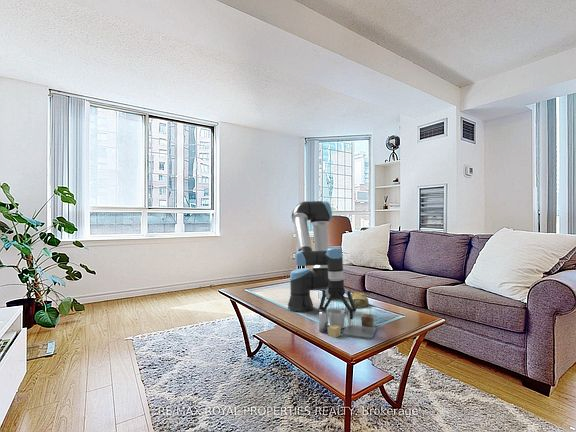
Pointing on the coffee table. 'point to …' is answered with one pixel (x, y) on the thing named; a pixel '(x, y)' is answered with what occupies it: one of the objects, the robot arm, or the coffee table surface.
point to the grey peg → (323, 322)
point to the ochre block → (334, 331)
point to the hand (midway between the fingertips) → (338, 325)
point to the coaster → (359, 332)
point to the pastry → (360, 299)
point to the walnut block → (367, 320)
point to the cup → (336, 317)
